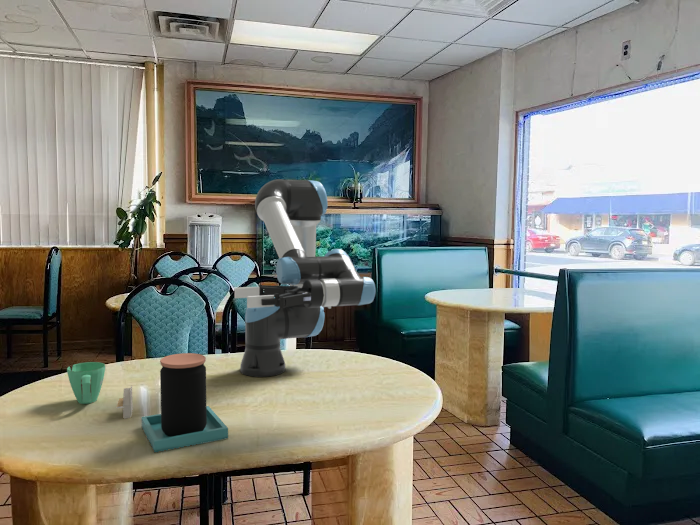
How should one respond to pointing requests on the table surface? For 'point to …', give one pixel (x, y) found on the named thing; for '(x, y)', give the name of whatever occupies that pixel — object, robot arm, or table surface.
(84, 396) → the mug
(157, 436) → the tray
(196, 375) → the coffee jar
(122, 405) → the architectural model
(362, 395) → the table surface
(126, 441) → the table surface
